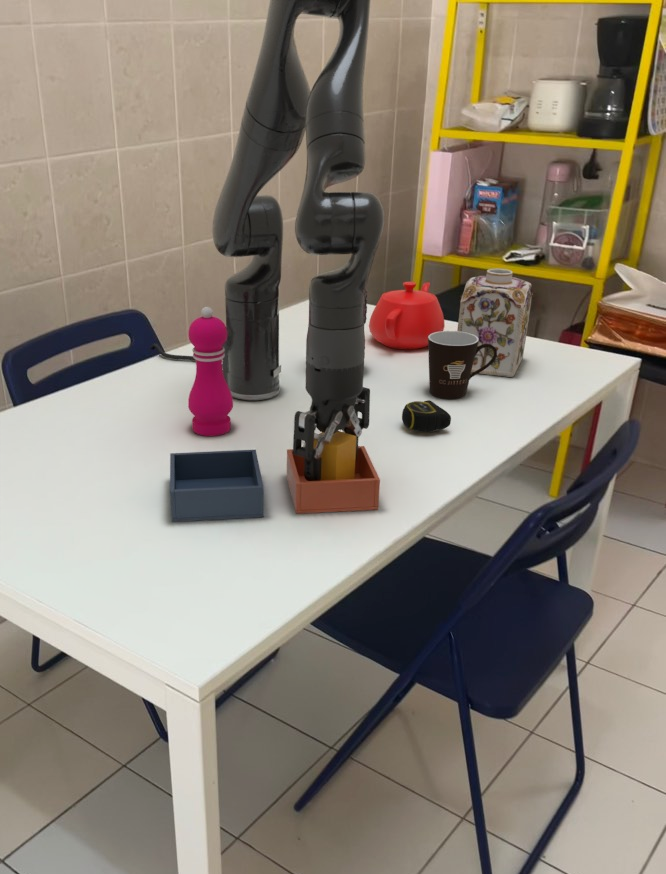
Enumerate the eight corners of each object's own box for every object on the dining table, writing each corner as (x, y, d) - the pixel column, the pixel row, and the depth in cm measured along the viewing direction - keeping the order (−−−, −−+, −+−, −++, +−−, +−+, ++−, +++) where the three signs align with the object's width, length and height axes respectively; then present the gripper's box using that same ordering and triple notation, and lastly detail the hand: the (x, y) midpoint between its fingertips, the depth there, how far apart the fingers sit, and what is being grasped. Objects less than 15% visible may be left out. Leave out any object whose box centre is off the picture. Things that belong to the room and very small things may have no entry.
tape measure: (451, 433, 141) (453, 411, 139) (412, 438, 139) (414, 416, 137) (431, 418, 146) (433, 397, 145) (394, 423, 145) (395, 401, 143)
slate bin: (172, 521, 116) (169, 491, 114) (172, 481, 126) (170, 453, 124) (263, 517, 117) (263, 487, 115) (256, 477, 127) (255, 449, 125)
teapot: (424, 363, 171) (429, 300, 165) (349, 352, 177) (352, 292, 171) (459, 329, 190) (465, 272, 184) (391, 321, 196) (395, 265, 190)
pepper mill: (241, 424, 145) (238, 303, 135) (221, 440, 139) (217, 315, 129) (202, 418, 148) (197, 298, 138) (181, 433, 142) (174, 310, 132)
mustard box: (335, 500, 120) (337, 446, 116) (309, 491, 122) (310, 438, 118) (354, 488, 123) (356, 436, 119) (328, 480, 125) (329, 428, 121)
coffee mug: (418, 397, 155) (423, 342, 150) (429, 382, 162) (434, 328, 157) (484, 406, 151) (492, 349, 146) (493, 390, 158) (500, 335, 153)
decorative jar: (451, 371, 167) (461, 274, 158) (463, 353, 176) (473, 261, 167) (515, 378, 163) (529, 280, 154) (524, 360, 172) (538, 266, 163)
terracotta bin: (295, 513, 118) (296, 483, 115) (286, 477, 127) (286, 449, 125) (378, 509, 118) (380, 479, 116) (362, 474, 128) (364, 445, 126)
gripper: (343, 338, 120) (339, 447, 128) (277, 365, 110) (277, 480, 119) (389, 349, 116) (382, 461, 124) (325, 377, 106) (322, 496, 114)
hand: (331, 470), depth 121 cm, fingers open, 8 cm apart
